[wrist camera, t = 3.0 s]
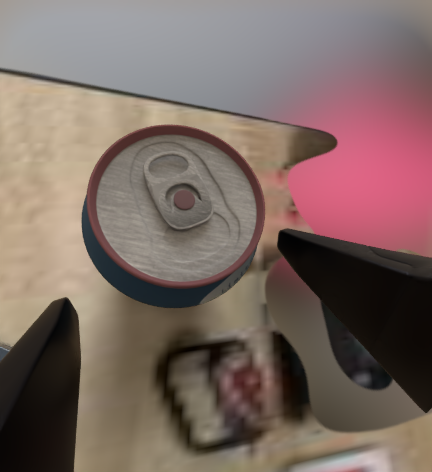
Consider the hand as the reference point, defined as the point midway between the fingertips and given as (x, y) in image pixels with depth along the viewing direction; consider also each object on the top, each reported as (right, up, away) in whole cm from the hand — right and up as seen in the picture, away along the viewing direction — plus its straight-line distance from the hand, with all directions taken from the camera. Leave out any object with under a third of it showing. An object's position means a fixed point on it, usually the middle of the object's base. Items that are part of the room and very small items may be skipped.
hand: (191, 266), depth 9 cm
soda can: (-3, -1, +9) cm, 10 cm away
